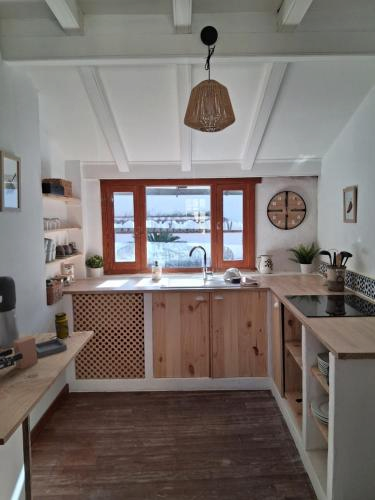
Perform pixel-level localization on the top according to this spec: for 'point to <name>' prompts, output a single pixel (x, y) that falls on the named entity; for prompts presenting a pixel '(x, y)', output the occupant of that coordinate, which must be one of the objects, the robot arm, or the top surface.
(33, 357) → the brick
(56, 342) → the tray
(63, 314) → the condiment
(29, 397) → the top surface
